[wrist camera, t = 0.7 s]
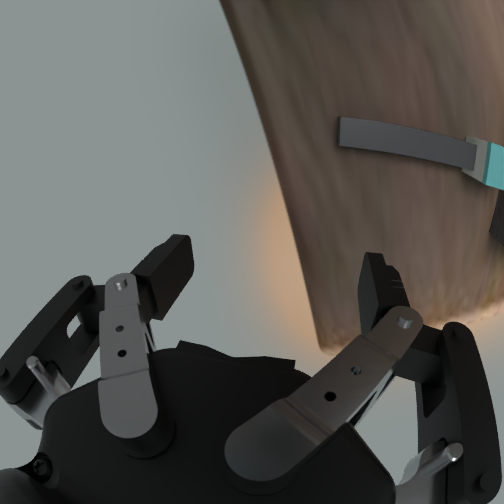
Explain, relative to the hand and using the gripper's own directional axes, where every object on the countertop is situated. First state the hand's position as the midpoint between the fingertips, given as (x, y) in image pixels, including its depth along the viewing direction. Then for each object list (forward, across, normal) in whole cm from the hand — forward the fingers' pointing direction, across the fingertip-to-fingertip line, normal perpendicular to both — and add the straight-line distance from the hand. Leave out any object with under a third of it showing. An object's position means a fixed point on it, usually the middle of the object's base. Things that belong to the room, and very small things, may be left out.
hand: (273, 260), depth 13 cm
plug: (+21, -14, -4) cm, 26 cm away
